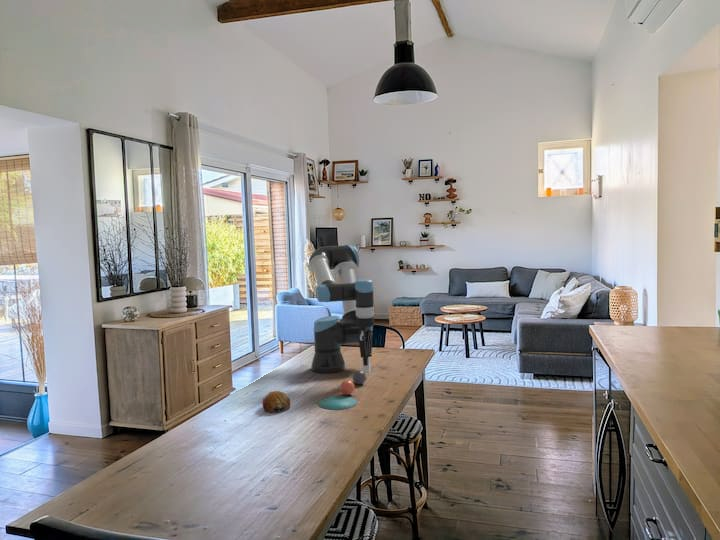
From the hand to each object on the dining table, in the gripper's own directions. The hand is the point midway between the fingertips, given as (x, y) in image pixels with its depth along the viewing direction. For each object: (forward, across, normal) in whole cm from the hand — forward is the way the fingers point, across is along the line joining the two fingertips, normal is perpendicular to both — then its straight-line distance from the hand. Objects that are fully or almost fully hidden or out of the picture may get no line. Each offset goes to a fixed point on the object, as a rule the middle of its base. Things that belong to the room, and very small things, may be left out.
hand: (366, 372), depth 223 cm
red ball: (0, -23, 0) cm, 23 cm away
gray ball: (0, -9, 0) cm, 9 cm away
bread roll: (+3, -44, +19) cm, 48 cm away
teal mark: (+3, -33, 0) cm, 33 cm away
